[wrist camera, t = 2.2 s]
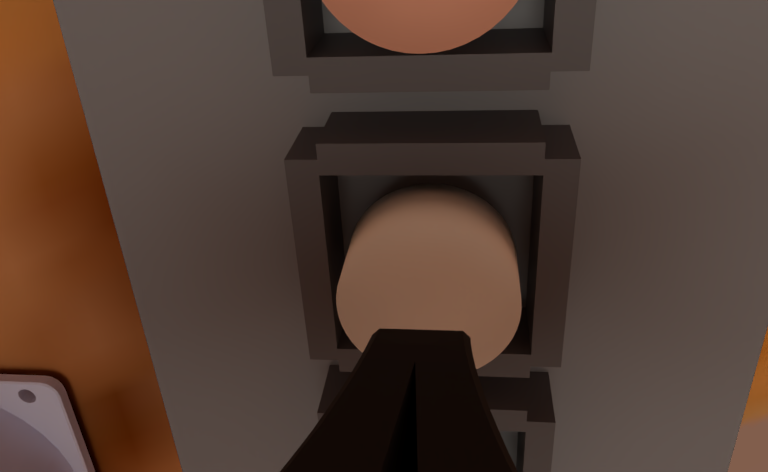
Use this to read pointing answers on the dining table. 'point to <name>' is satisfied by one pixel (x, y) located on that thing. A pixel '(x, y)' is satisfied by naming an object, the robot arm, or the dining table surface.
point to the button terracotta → (419, 21)
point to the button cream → (432, 269)
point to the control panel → (453, 168)
